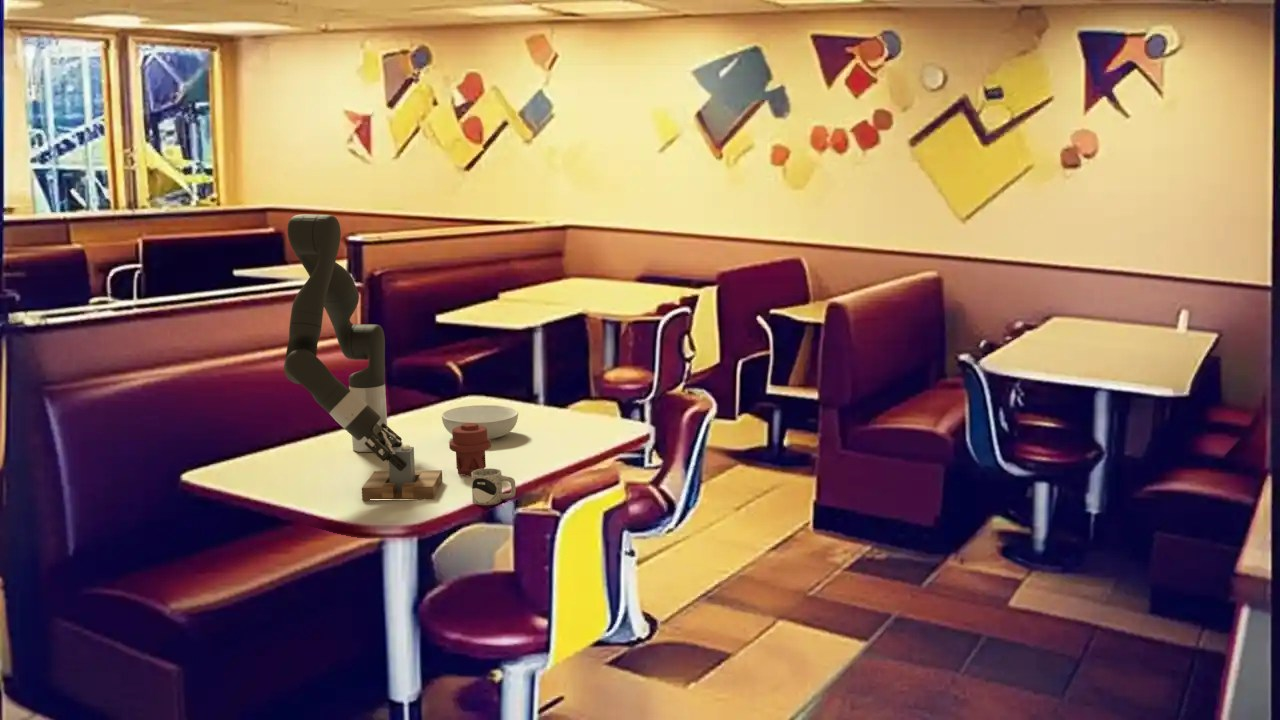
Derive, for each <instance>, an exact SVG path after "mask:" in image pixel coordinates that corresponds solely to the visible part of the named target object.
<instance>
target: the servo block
mask: <svg viewBox="0 0 1280 720" xmlns="http://www.w3.org/2000/svg"><path fill="white" fill-rule="evenodd" d="M392 449H393V451H394V452H395V454H397V455H398V456H399V457H400V458H401V459H402V460H403V461H405V462H406V463H407V466H406V467H405V468H404V469H403V470H402V471H399V470H398V469H397V468H396V467H395V466H394V465H392V464H391V463H390V462H389V461H388V471H389V478H390V483H396V492H402V486H403V484H404V483H411V482H415V471H416V468H415V448H414V446H410V445H409V444H403V445H402V446H401V447H392ZM395 454H394V455H395Z"/></svg>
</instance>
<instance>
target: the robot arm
mask: <svg viewBox="0 0 1280 720" xmlns="http://www.w3.org/2000/svg"><path fill="white" fill-rule="evenodd" d="M341 233H342V229H341V225H340V222H339V220H338V219H337V217H335V216H334V215H331V214H312V213H311V214H310V213H309V214H307V213H304V214H301V213H300V214H296V215H294V216H292V217H291V218H290V219H289V220H288V223H287V238H288V242H289V244H290V247H291V249H292V250H293V253H294V254H295V255H296V257H297V259H298V260H299V261H300V263H301V265H302V266H303V268H304V269H305V271H306V272H307V275H308V276H309V278H308V279H307V280H306V282H305V283H304V284H303V286H301V289H299V291H298V292H297V294H296V296H295V297H294V299H293V302H292V305H291V312H290V321H289V327H288V328H289V331H288V334H289V335H288V341H287V342H288V343H287V348H286V352H285V358H284V364H283V372H284V375H285V377H286V379H287V380H289V381H290V382H292V383H293V384H296V385H297V384H298V385H301V386H303V388H305V389H306V390H307V391H308V392H309V393H310V394H311V395H312V398H313V400H315V402H316V403H317V404H318V405H319V406H321V408H322V409H324V410H325V411H326V413H328V414H329V415H330V416H331V417H332V419H334V420H335V422H336V423H338V424H339V426H341V427H342V428H343V429H344V430H345V431H347V433H349V435H351V438H352V442H351V443H352V450H353V451H354V452H360V453H373V454H374V455H376V456H377V458H379V459H380V460H381V461H382V462H385V461H386V462H388V463H389V462H390V463H391V464H392V465H394V466H395V467H396V468H397V469H398V470H399V471H402V470H403V469H404V468H405V467H406V466H407V463H406V462H405V461H403V460H402V459H401V458H400V457H399V456H398V455H397V454H395V452H394V451H393V449H392V447H401V446H402V445H404V444H403V442H402V440H403V439H402V437H401V436H399V435H398V434H397V433H396V432H395V431H394V430H392V429H391V428H390V427H389V426H388V415H387V413H388V412H387V397H386V396H387V395H386V379H385V377H386V364H385V362H386V358H385V357H386V352H385V351H386V340H385V339H386V337H385V332H384V329H383V328H382V326H381V325H380V324H373V323H371V324H370V323H369V324H365V323H363V324H357V323H356V324H355V323H352V321H351V318H352V316H353V315H354V313H355V312H356V309H357V308H358V307H357V306H358V304H359V300H360V293H359V291H358V288H357V286H356V283H355V281H354V279H353V276H352V275H351V273H350V272H349V271H348V270H347V269H345V268H344V267H343V266H342V265H341V264H339V263H338V262H336V260H337V257H338V253H339V250H340V246H341V245H340V243H341V237H342V236H341ZM324 310H325V311H326V313H327V316H328V317H329V320H330V323H331V324H332V327H333V330H334V333H335V336H336V339H337V343H338V346H339V348H340V350H341V353H342V354H343V356H344V357H345V358H346V359H349V360H357V361H358V360H360V361H361V360H368V365H367V367H365V368H364V369H362V370H358V371H356V372H353V373H351V374H350V375H348V376H349V377H348V387H347V386H346V385H345V384H344V383H343V382H342V381H341V380H339V379H338V378H337V377H335V375H334V374H333V373H332V371H330V369H328V367H327V366H326V365H325V364H324V363H323V361H322V360H321V359H320V358H319V357H318V356H317V353H318V343H319V340H320V337H321V333H322V326H323V319H324V317H323V316H324ZM394 454H395V455H394Z"/></svg>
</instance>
